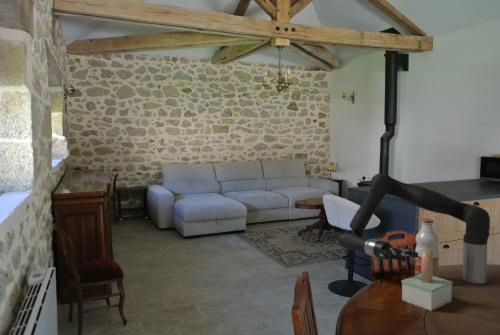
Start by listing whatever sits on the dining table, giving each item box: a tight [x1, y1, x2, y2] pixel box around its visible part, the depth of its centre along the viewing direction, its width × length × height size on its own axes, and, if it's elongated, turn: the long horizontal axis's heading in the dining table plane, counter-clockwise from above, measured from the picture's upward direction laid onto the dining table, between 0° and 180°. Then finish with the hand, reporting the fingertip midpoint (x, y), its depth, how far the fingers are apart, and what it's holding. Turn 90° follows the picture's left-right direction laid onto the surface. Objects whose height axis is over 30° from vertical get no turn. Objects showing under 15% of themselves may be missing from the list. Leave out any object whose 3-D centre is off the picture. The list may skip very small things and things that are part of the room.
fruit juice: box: [414, 218, 439, 278], centre depth 171 cm, size 9×9×28 cm
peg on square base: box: [401, 249, 453, 293], centre depth 150 cm, size 14×12×14 cm
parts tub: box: [401, 283, 453, 312], centre depth 150 cm, size 14×12×7 cm
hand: (411, 257), depth 155 cm, fingers open, 8 cm apart
